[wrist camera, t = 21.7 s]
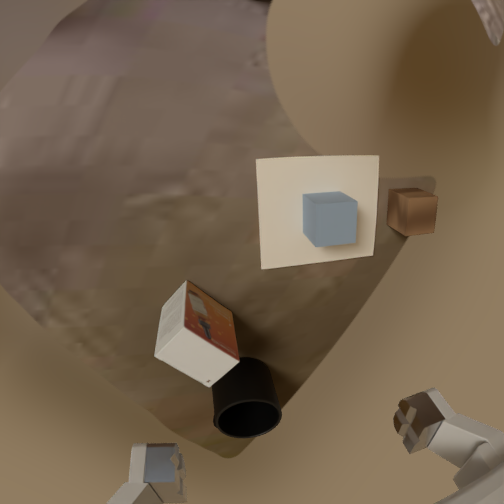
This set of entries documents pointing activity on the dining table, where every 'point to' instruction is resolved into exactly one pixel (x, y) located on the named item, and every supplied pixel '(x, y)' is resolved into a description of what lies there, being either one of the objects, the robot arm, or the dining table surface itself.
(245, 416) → the mug
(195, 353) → the small box
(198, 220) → the dining table surface
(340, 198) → the cube
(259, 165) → the cream flat square panel
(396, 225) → the block
